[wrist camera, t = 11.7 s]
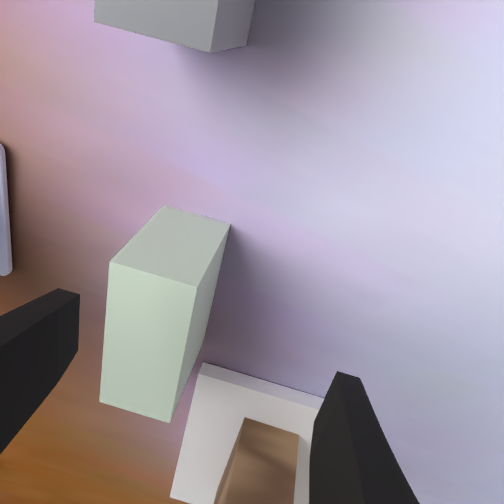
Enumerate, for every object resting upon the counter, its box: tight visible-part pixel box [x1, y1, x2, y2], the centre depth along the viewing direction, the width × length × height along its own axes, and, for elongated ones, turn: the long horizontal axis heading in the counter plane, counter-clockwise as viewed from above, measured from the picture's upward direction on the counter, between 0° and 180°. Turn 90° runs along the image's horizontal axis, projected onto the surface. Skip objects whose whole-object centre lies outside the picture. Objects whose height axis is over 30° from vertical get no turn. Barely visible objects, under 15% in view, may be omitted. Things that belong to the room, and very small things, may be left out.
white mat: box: [170, 362, 325, 504], centre depth 28 cm, size 10×13×1 cm
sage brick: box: [99, 205, 230, 423], centre depth 21 cm, size 4×8×6 cm, turn 167°
